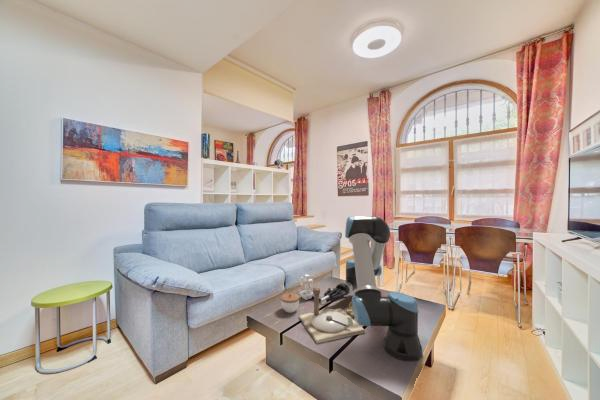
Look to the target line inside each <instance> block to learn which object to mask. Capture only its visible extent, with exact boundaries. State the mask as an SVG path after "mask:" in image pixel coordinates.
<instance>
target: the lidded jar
mask: <svg viewBox="0 0 600 400" xmlns="http://www.w3.org/2000/svg"><path fill="white" fill-rule="evenodd" d="M280 304H281V307H282V309H283V310H284V312H285V313H288V314H290V313H291V314H292V313H294V312H295V311H297V309H298V308H299V304H300V294H296V293H292V292H291V293H290V292H289V293H284V294H282V295H280Z"/></svg>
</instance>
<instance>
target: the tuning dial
mask: <svg viewBox="0 0 600 400" xmlns="http://www.w3.org/2000/svg"><path fill="white" fill-rule="evenodd" d="M312 292H313V294H314V295H313V309H314V310H313V313H314V314H313V315H312V316H311V324H312V326H313V327H315V328H316V329H318V330H321V331H324V332H338V331H342V330H344V329H345V328H346V327H349V326H348V319H347V317H346V316H345V315H343V314H342V313H339V312H336V311H330V309H326V310H320V294H321V288H319V287H312Z"/></svg>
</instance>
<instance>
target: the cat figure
mask: <svg viewBox="0 0 600 400" xmlns="http://www.w3.org/2000/svg"><path fill="white" fill-rule="evenodd" d="M348 308H349V309H346V312H345V313H347V314H348V315H349V316H350V317H351V318H352V319H353V318H354V319H355V317H354V313H353V308H352V301H350V302H349V304H348Z"/></svg>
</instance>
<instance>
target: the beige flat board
mask: <svg viewBox="0 0 600 400" xmlns="http://www.w3.org/2000/svg"><path fill="white" fill-rule="evenodd" d="M329 310H330V311H336V312H339V313H342V314H343V315H345V316H346V317H347V319H348V326H349V327H346V328H345V329H344V330H342V331H338V332H324V331H321V330H318V329H316V328H315V327H313V326H312V324H311V316H312V315H313V314H314V312H309V313H303V314H299V317H298V318H299V321H301V323H302V324H303V326H304V327H305V329H306V330H307V331H308V333H309V334H310V335H311V337H312V338H313V340H314V342H315V343H316V344H322V343H326V342H331V341H334V340H340V339H343V338H348V337H352V336H357V335H361V334H364V333H366V331H365V330H366V329H364V328H363V327H362V325H359V324H358V323H357V321H356V320H355V319H353V318H351V316H350V315H348V314H347V313H346V312H345V311H344V310H343V309H342V308H341V307H338V308H331V309H329Z"/></svg>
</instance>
